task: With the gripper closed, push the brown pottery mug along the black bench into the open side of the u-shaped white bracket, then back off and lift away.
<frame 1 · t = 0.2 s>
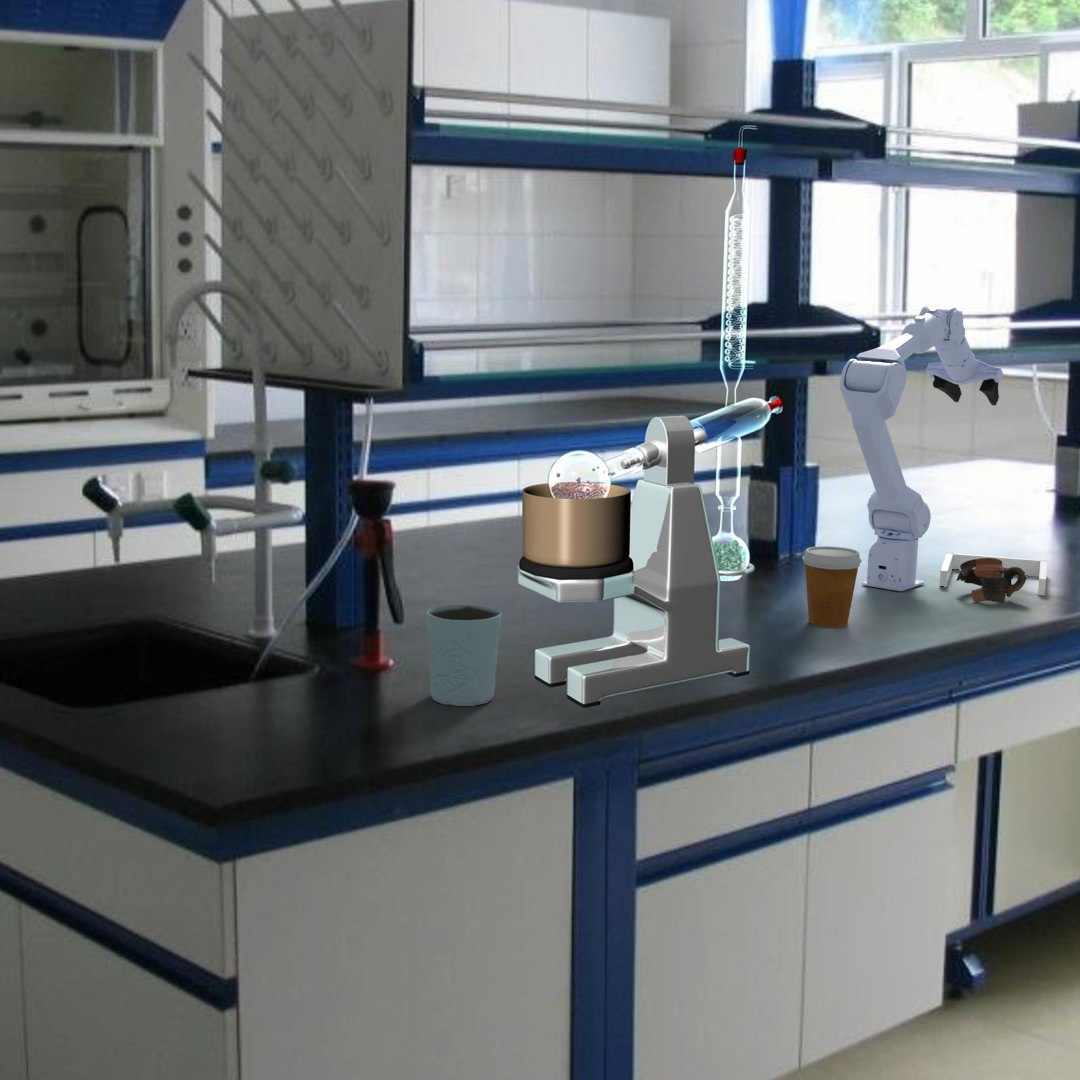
hand: (976, 399, 338), 32 cm above the counter, tool tilted 50°, fingers open, 7 cm apart
pottery mug: (989, 599, 314), on the counter
grey tapered cup: (462, 699, 242), on the counter
u-shaped white bracket: (993, 581, 328), on the counter
disposable coffee cup: (828, 624, 291), on the counter
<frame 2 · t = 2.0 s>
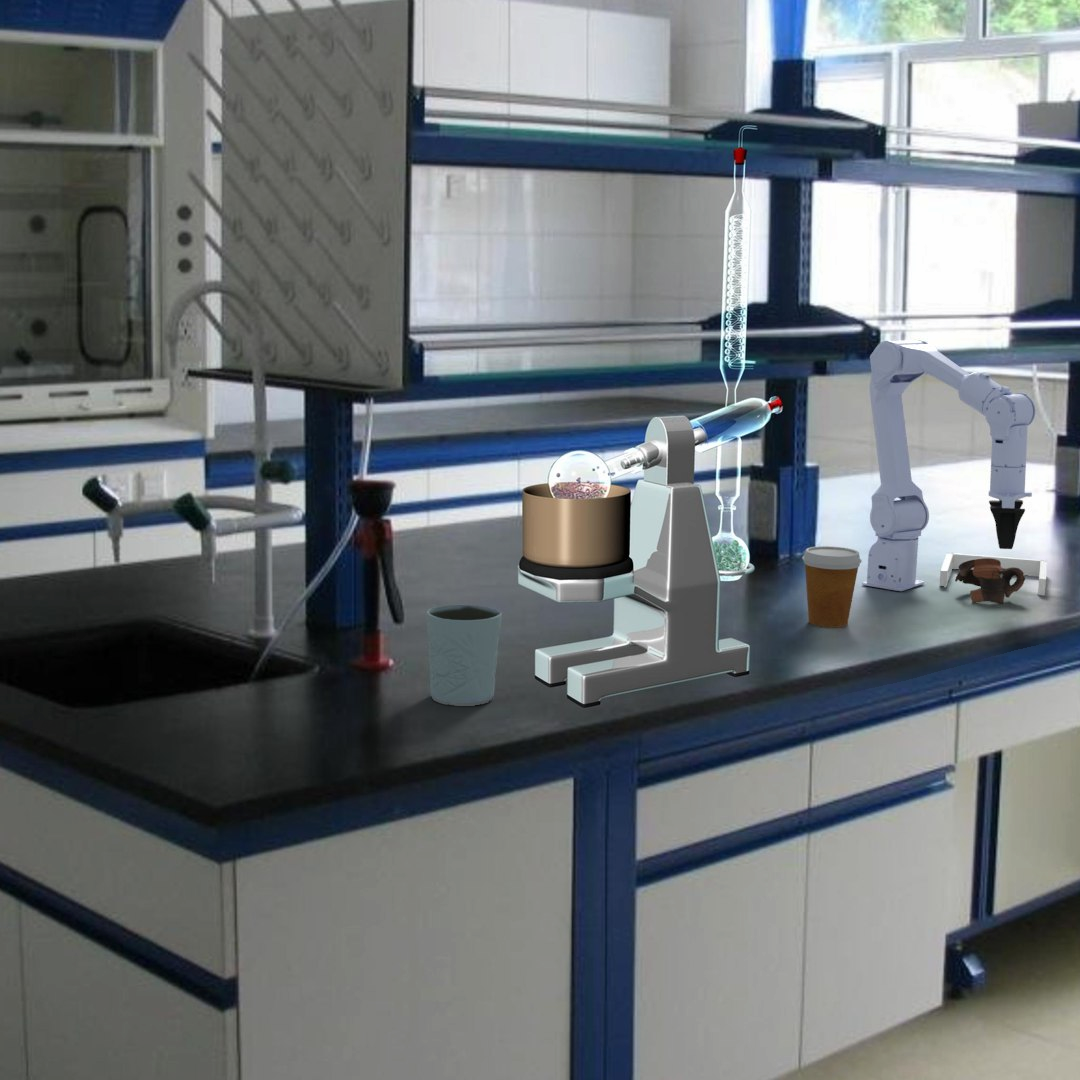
hand: (1005, 545, 302), 11 cm above the counter, tool pointing down, fingers open, 7 cm apart
nothing on the counter moved.
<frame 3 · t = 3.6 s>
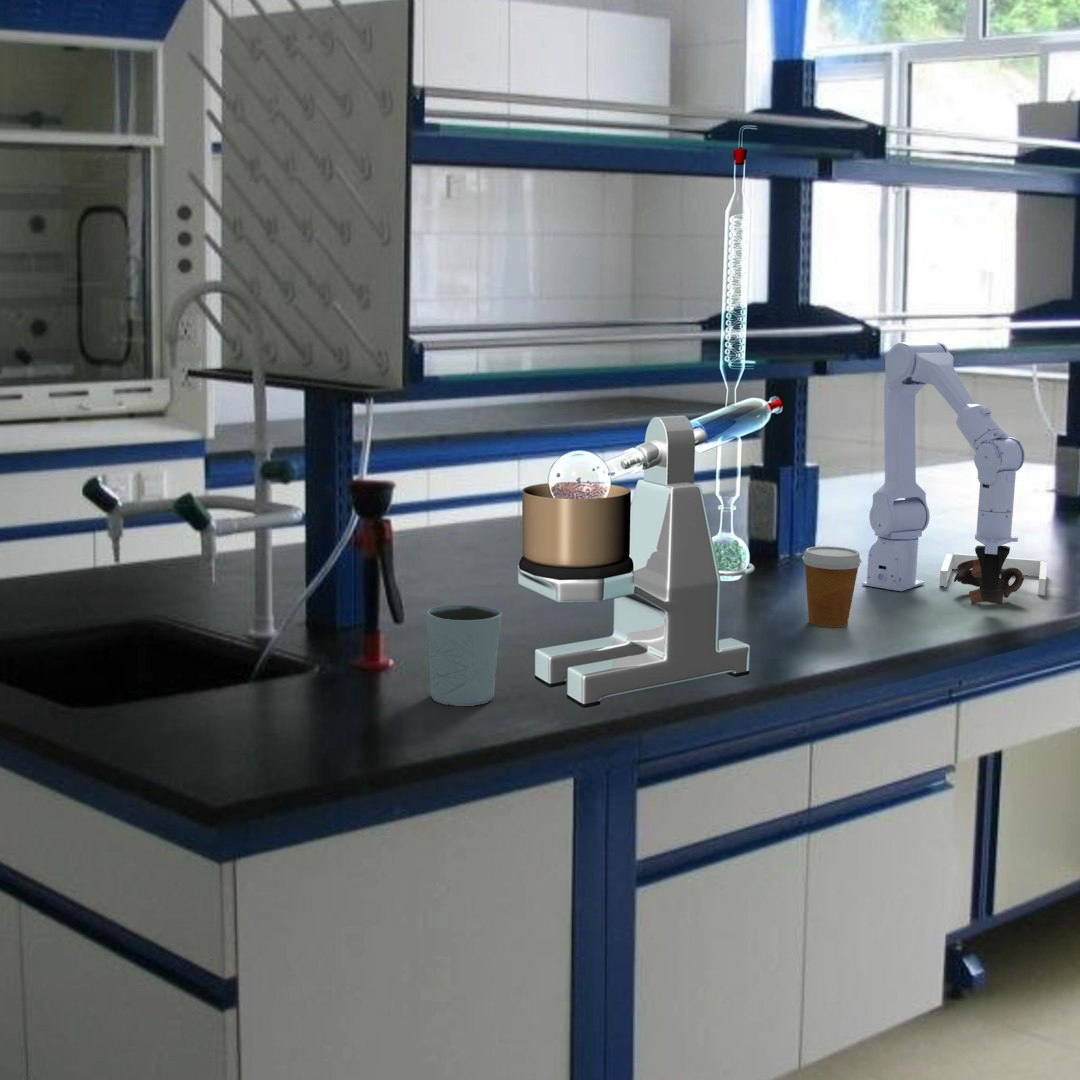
hand: (989, 588, 303), 4 cm above the counter, tool pointing down, fingers closed
nothing on the counter moved.
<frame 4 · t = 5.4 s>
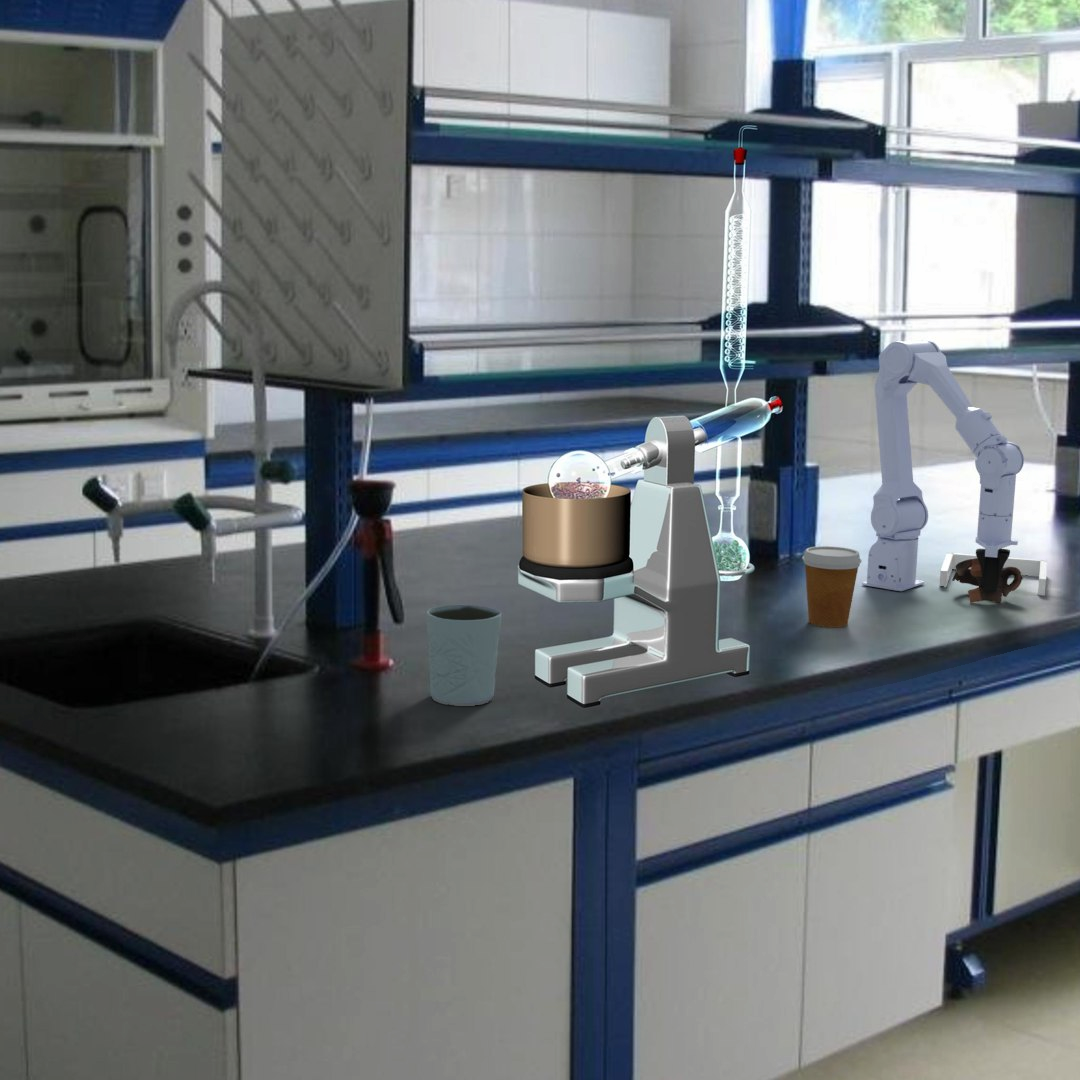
hand: (989, 591, 308), 2 cm above the counter, tool pointing down, fingers closed
pottery mug: (985, 599, 314), on the counter, touching gripper
everything else where it was.
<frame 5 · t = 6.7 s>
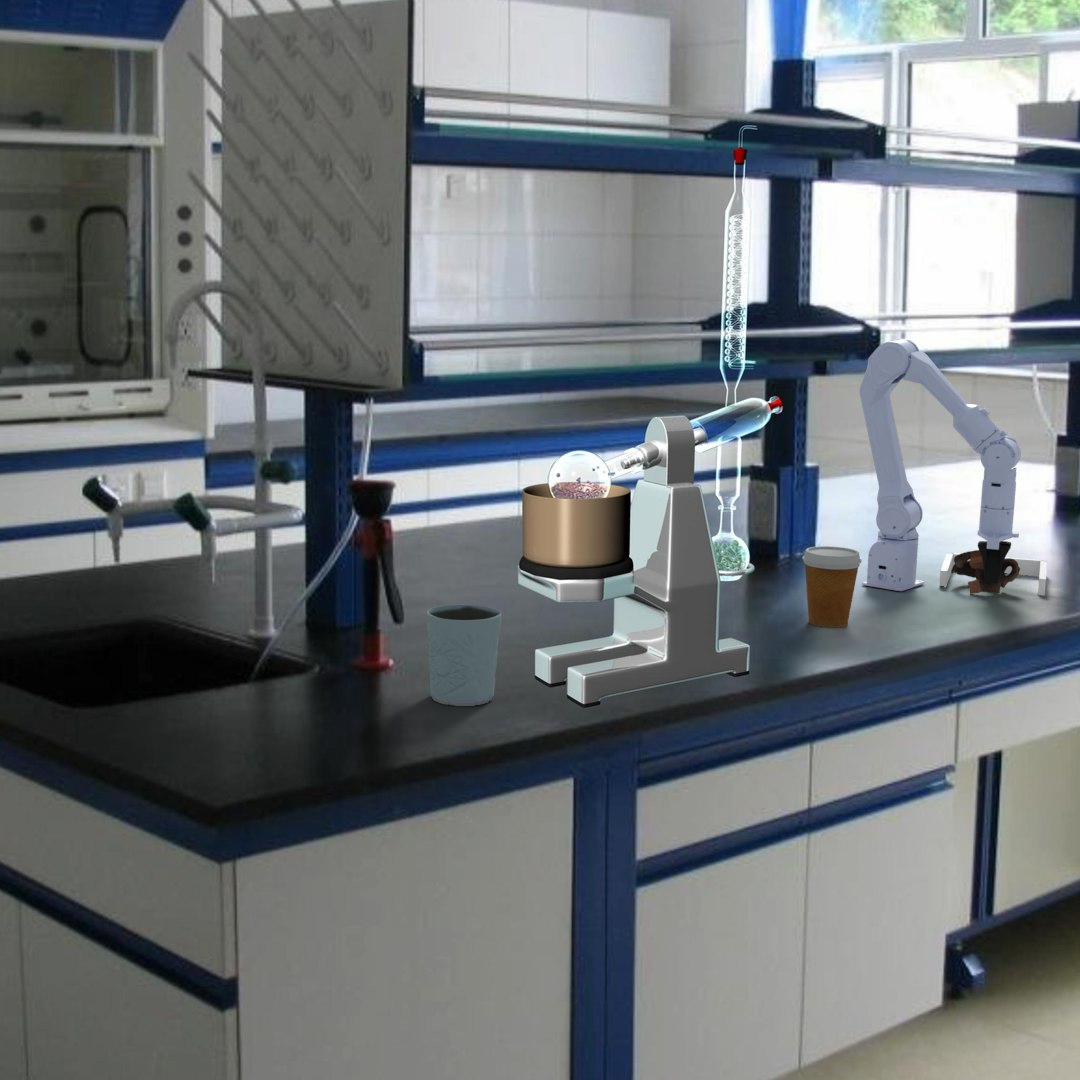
hand: (991, 582, 315), 2 cm above the counter, tool pointing down, fingers closed
pottery mug: (983, 590, 321), on the counter, touching gripper
everything else where it was.
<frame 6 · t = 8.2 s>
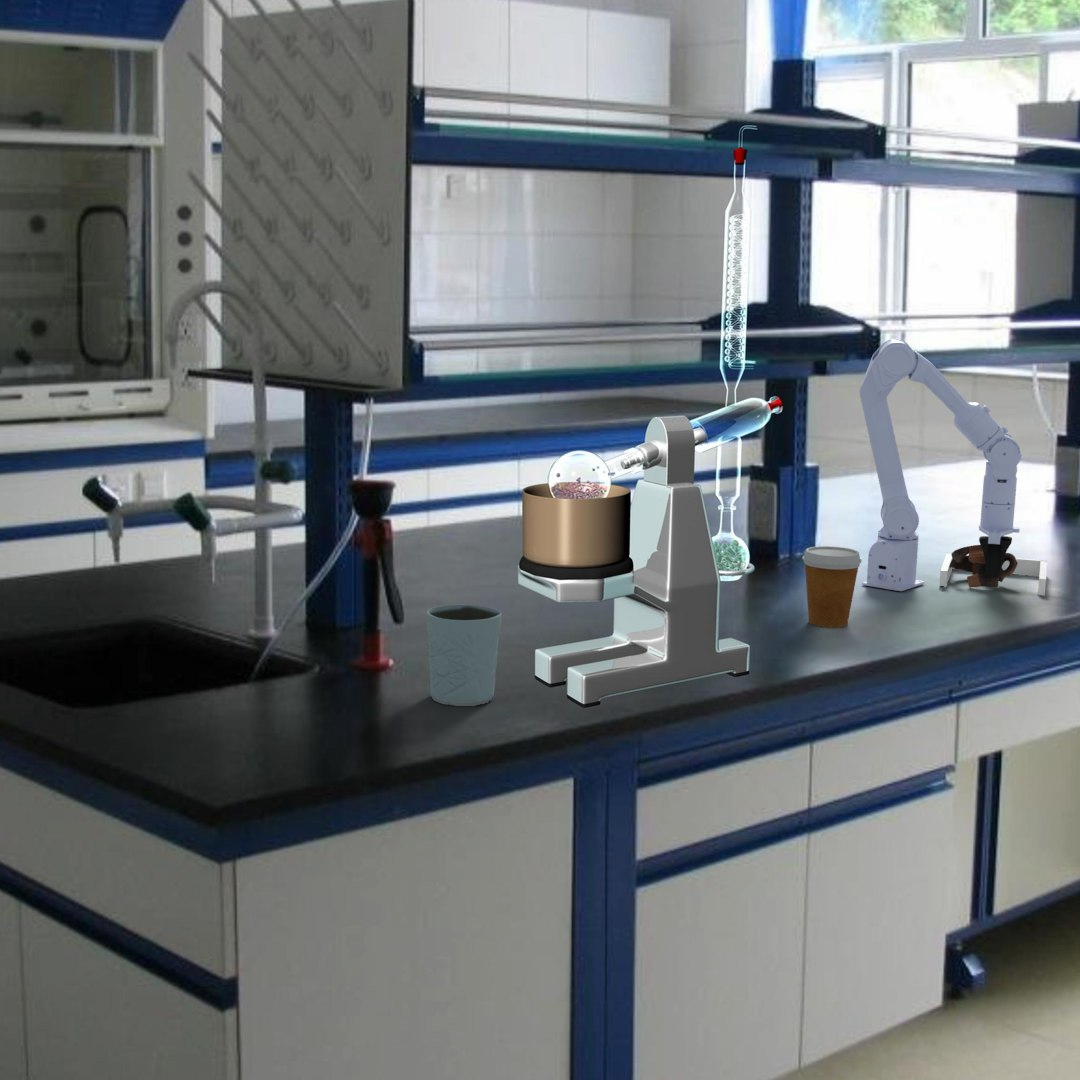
hand: (992, 576, 320), 2 cm above the counter, tool pointing down, fingers closed
pottery mug: (981, 585, 326), on the counter, touching gripper
everything else where it was.
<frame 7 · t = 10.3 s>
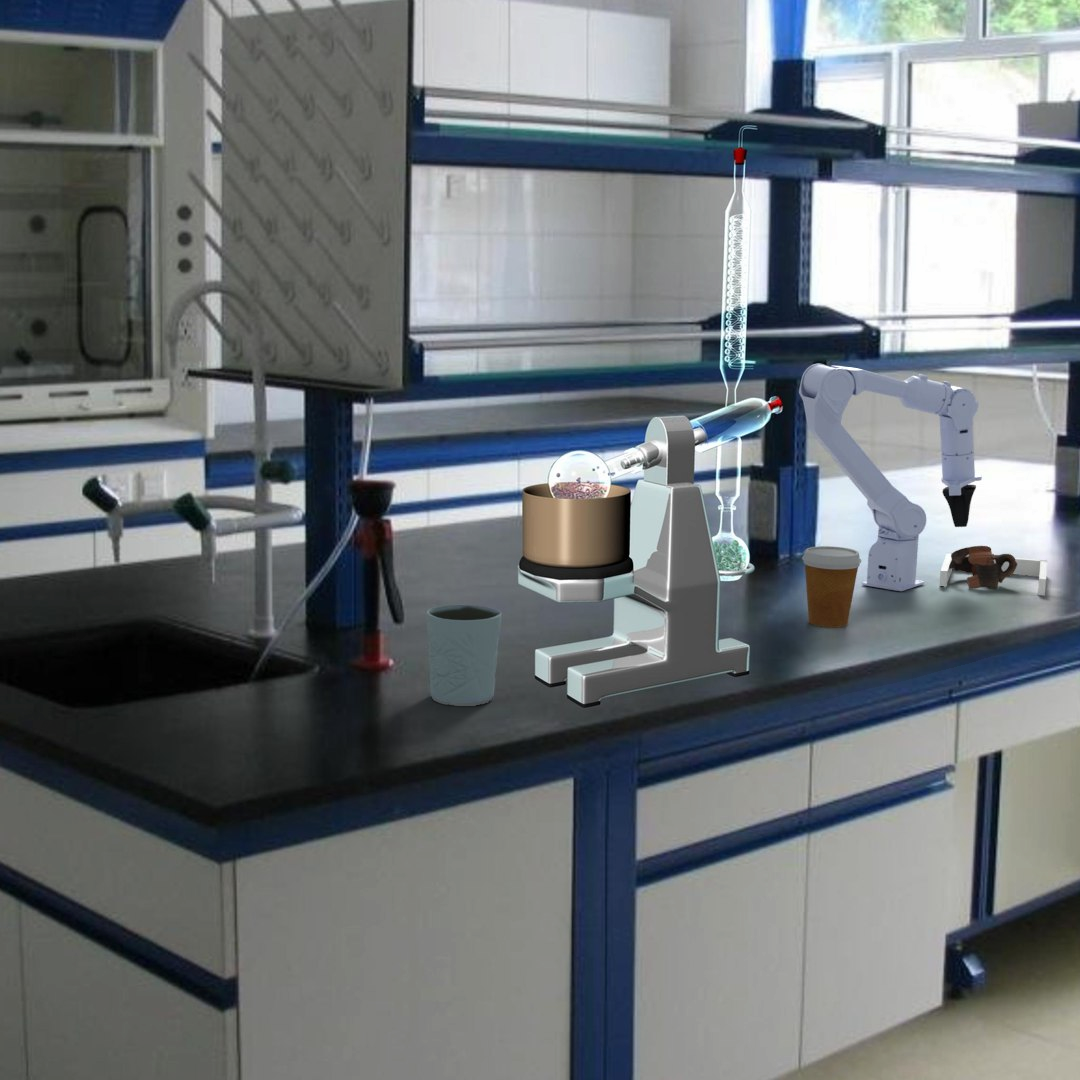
hand: (961, 526, 324), 11 cm above the counter, tool pointing down, fingers closed
pottery mug: (981, 586, 325), on the counter
everything else where it was.
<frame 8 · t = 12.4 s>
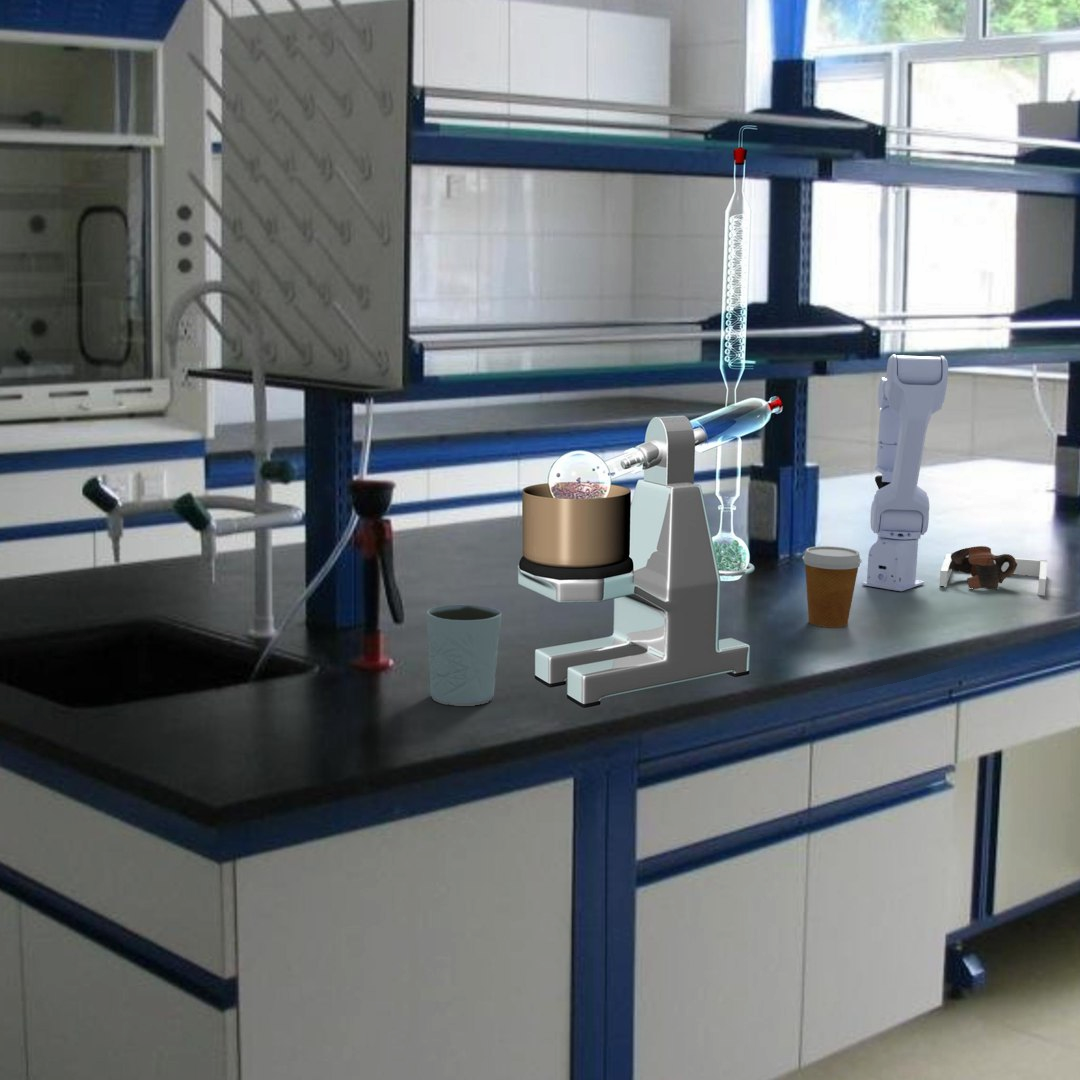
hand: (888, 514, 336), 10 cm above the counter, tool pointing down, fingers closed
nothing on the counter moved.
at the end: pottery mug inside the target area on the u-shaped white bracket (4.1 cm from its centre), point 0.0 cm above the u-shaped white bracket's base; pottery mug tilted 0° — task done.
